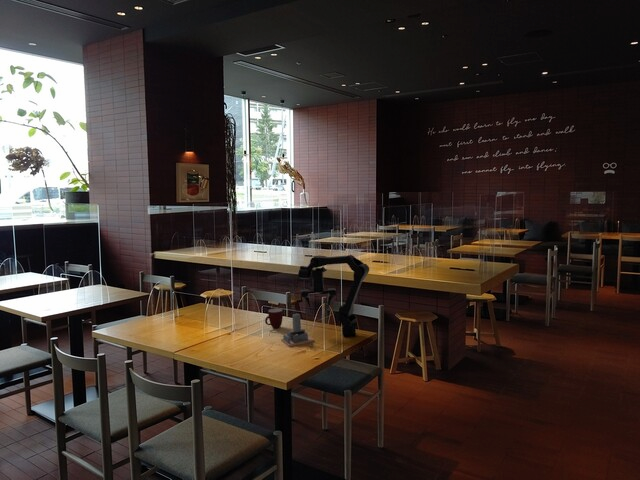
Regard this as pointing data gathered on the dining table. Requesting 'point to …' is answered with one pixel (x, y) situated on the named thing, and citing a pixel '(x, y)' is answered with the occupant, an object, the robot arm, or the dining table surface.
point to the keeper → (287, 341)
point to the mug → (275, 317)
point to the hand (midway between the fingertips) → (319, 308)
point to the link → (297, 330)
